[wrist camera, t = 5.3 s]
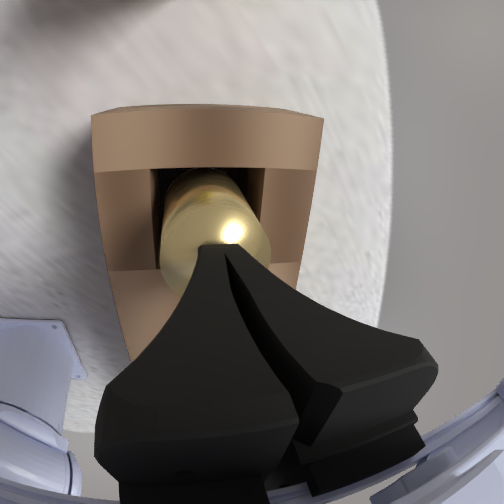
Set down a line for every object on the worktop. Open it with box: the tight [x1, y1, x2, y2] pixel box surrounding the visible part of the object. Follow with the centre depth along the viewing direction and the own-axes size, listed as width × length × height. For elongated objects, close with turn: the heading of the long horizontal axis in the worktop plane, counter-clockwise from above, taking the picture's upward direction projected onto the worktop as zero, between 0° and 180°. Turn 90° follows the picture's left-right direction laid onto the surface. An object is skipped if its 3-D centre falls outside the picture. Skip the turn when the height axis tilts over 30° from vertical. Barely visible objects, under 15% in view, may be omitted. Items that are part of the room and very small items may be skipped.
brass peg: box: [160, 167, 271, 297], centre depth 13 cm, size 4×4×6 cm
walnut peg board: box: [91, 104, 324, 363], centre depth 19 cm, size 10×22×6 cm, turn 175°
